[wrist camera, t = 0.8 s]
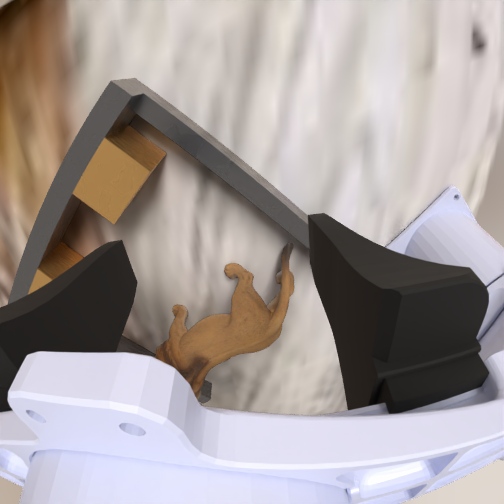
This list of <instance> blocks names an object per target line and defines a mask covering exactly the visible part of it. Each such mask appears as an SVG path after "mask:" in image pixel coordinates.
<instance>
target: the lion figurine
mask: <svg viewBox="0 0 504 504" xmlns="http://www.w3.org/2000/svg"><path fill="white" fill-rule="evenodd" d="M292 249H293V243H292V242H289V243H288V244H287V245H286V246H285V247H284V249H283V253H282V271H280V272H279V273H277V275H276V281H277V283H279V284H281V290H280V292H279V293H278V294H277V295H276V297H275V298H274V299H273V300H272V301H271V302H270V303H269V304H268V305H267V306H266V305H265V303H264V301H263V300H262V299H261V297H260V296H259V295H258V293H257V292H256V291H255V289H254V288H253V285H252V282H253V278H254V276H253V274H252V273H251V272H249V271H247V270H246V269H244V268H243V267H242V266H240V265H239V264H236V263H230V264H228V265H226V266H225V270H224V272H225V273H226V275H227V276H228V277H229V278H230V279H233V278H236V277H238V279H239V282H238V285H237V287H236V290H235V292H234V294H233V296H232V308H231V314H216V315H211V316H209V317H206V318H204V319H202V320H201V321H199V322H198V323H197V324H195V325H194V326H193V327H192V328H191V329H190V330H189V331H188V330H187V328H186V327H185V322H186V319H187V316H188V311H187V309H186V307H184V306H182V305H175V306H174V307H173V313H174V315H175V316H176V317H175V319H174V322H173V324H172V325H171V328H170V331H169V340H168V341H165V342H164V343H163V344H161V345H160V346H158V348H157V350H156V356H155V357H154V358H156V359H158V360H160V361H162V362H164V363H166V364H168V365H170V366H172V367H174V368H175V369H176V370H177V371H178V372H179V373H180V374H181V375H182V377H183V378H184V379H185V380H186V381H187V382H188V383H189V384H190V386H191V388H192V391H193V393H194V395H195V397H196V399H197V401H198V399H199V397H200V394H201V390H200V389H201V387H202V385H203V383H204V379H205V376H206V374H207V373H208V371H209V370H210V369H211V368H213V367H214V366H216V365H218V364H220V363H222V362H224V361H226V360H228V359H230V358H231V357H233V356H236V355H238V354H244V353H253V352H257V351H260V350H263V349H265V348H267V347H269V346H270V345H271V344H272V343H273V342H274V341H275V340H276V339H277V338H278V337H279V336H280V333H281V330H282V323H283V321H284V318H285V316H286V313H287V309H288V304H289V297H290V296H291V295H292V294H293V292H294V276H293V274H292V272H290V271H289V258H290V254H291V252H292Z"/></svg>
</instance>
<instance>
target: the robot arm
mask: <svg viewBox="0 0 504 504" xmlns="http://www.w3.org/2000/svg"><path fill="white" fill-rule="evenodd" d="M455 195H456V198H454V196H455ZM308 229H309V249H310V264H311V268H312V273H313V277H314V282H315V285H316V288H317V290H318V293H319V296H320V299H321V301H322V304H323V307H324V309H325V312H326V315H327V317H328V320H329V323H330V326H331V329H332V332H333V335H334V339H335V344H336V348H337V353H338V357H339V362H340V367H341V373H342V378H343V383H344V389H345V395H346V401H347V407H348V410H347V411H342V412H336V413H330V414H324V415H292V414H275V413H261V412H250V411H240V410H231V409H222V408H214V407H207V406H202V405H200V403H199V402H198V401H197V399H196V397H195V395H194V393H193V391H192V388H191V386H190V384H189V383H188V382H187V381H186V380H185V379H184V378H183V377H182V375H181V374H180V373H179V372H178V371H177V370H176V369H175V368H174V367H172V366H170V365H168V364H166V363H164V362H162V361H160V360H158V359H156V358H154V357H152V356H147V355H141V354H135V353H128V352H117V353H116V351H117V348H118V344H119V342H120V339H121V336H122V333H123V330H124V327H125V325H126V322H127V319H128V316H129V313H130V311H131V308H132V305H133V302H134V297H135V293H136V287H137V280H136V277H135V275H134V272H133V269H132V266H131V264H130V261H129V258H128V255H127V253H126V250H125V247H124V244H123V241H122V240H119V241H113V242H108V243H106V244H104V245H102V246H101V247H99V248H97V249H96V250H94V251H93V252H92V253H90V254H89V255H87V256H86V257H85V258H83V259H82V260H80V261H79V262H78V263H76V264H75V265H74V266H72V267H71V268H69V269H68V270H66V271H65V272H64V273H62V274H61V275H59V276H58V277H56V278H55V279H54V280H52V281H50V282H49V283H47V284H46V285H44V286H42V287H41V288H39V289H37V290H36V291H34V292H32V293H30V294H28V295H26V296H24V297H22V298H20V299H19V300H17V301H15V302H12V303H10V304H8V305H6V306H3V307H1V308H0V476H1V477H3V478H5V479H7V480H9V481H12V482H13V483H15V484H18V485H20V486H22V487H23V490H22V494H21V497H20V501H19V504H400V503H403V502H406V501H408V500H411V499H414V498H417V497H419V496H421V495H424V494H427V493H429V492H431V491H434V490H436V489H438V488H441V487H443V486H445V485H447V484H450V483H452V482H454V481H456V480H458V479H460V478H463V477H464V476H467V475H469V474H471V473H473V472H475V471H477V470H479V469H481V468H483V467H485V466H486V465H488V464H490V463H492V462H494V461H496V460H498V459H500V460H504V248H503V247H502V246H501V245H500V244H499V243H498V242H497V241H496V240H494V239H493V238H492V237H491V236H490V235H489V234H488V233H487V232H486V231H484V230H483V229H482V228H481V227H480V226H479V225H478V223H477V222H476V220H475V218H474V216H473V214H472V212H471V211H470V209H469V207H468V205H467V204H466V202H465V200H464V198H463V197H462V195H461V193H460V192H459V190H458V188H457V187H455V186H453V185H452V186H450V187H449V188H448V189H447V190H446V191H445V192H444V193H443V194H442V195H441V196H440V197H439V198H438V199H437V200H436V201H434V202H433V203H432V204H431V205H430V206H429V207H428V208H427V209H426V210H425V211H424V212H423V213H422V214H421V215H420V216H419V217H418V218H417V219H416V220H415V221H414V222H413V223H412V224H411V225H410V226H409V227H407V228H406V229H405V230H404V231H403V232H402V233H401V234H400V235H399V236H398V237H397V238H396V239H395V240H393V241H392V242H391V243H390V244H389V245H388V246H387V247H386V248H385V247H383V246H381V245H378V244H376V243H374V242H372V241H370V240H368V239H366V238H364V237H363V236H361V235H359V234H357V233H355V232H354V231H352V230H350V229H349V228H347V227H346V226H344V225H342V224H341V223H339V222H338V221H336V220H335V219H333V218H332V217H330V216H328V215H327V214H325V213H321V214H313V215H308Z"/></svg>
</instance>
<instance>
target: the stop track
mask: <svg viewBox="0 0 504 504" xmlns="http://www.w3.org/2000/svg"><path fill="white" fill-rule="evenodd" d="M136 114H138V115H139V116H140V117H142V118H143V119H144V120H146V121H147V122H148V123H150V124H151V125H152V126H154V127H155V128H156V129H158V130H159V131H160V132H162V133H163V134H164V135H166V136H167V137H168V138H170V139H171V140H172V141H174V142H175V143H176V144H178V145H179V146H180V147H182V148H183V149H184V150H186V151H187V152H188V153H189V154H191V155H192V156H193V157H195V158H196V159H197V160H199V161H200V162H201V163H202V164H204V165H205V166H206V167H208V168H209V169H210V170H211V171H213V172H214V173H215V174H217V175H218V176H219V177H220V178H222V179H223V180H224V181H225V182H227V183H228V184H229V185H231V186H232V187H233V188H234V189H236V190H237V191H238V192H239V193H241V194H242V195H243V196H244V197H246V198H247V199H248V200H249V201H251V202H252V203H253V204H254V205H256V206H257V207H258V208H259V209H261V210H262V211H263V212H264V213H265V214H267V215H268V216H269V217H270V218H272V219H273V220H274V221H275V222H277V223H278V224H279V225H280V226H281V227H283V228H284V229H285V230H286V231H288V232H289V233H290V234H291V235H292V236H294V237H295V238H296V239H297V240H298V241H300V242H301V243H302V244H303V245H304V246H306V247H307V248H308V249H309V229H308V216H307V215H306V214H305V213H304V212H303V211H302V210H300V209H299V208H298V207H297V206H296V205H295V204H294V203H292V202H291V201H290V200H289V199H288V198H287V197H285V196H284V195H283V194H282V193H281V192H280V191H278V190H277V189H276V188H275V187H274V186H273V185H271V184H270V183H269V182H268V181H267V180H265V179H264V178H263V177H262V176H261V175H259V174H258V173H257V172H256V171H255V170H253V169H252V168H251V167H250V166H249V165H247V164H246V163H245V162H244V161H243V160H241V159H240V158H239V157H238V156H236V155H235V154H234V153H233V152H231V151H230V150H229V149H228V148H226V147H225V146H224V145H223V144H221V143H220V142H219V141H218V140H216V139H215V138H214V137H213V136H211V135H210V134H209V133H208V132H206V131H205V130H204V129H202V128H201V127H200V126H199V125H197V124H196V123H195V122H193V121H192V120H191V119H189V118H188V117H187V116H186V115H184V114H183V113H182V112H180V111H179V110H178V109H176V108H175V107H174V106H172V105H171V104H170V103H168V102H167V101H166V100H164V99H163V98H162V97H160V96H159V95H158V94H156V93H155V92H153V91H152V90H151V89H149V88H148V87H147V86H145V85H144V84H142V83H141V82H140V81H138V80H137V79H135V78H132V79H122V80H113V81H111V82H110V83H109V84H108V86H107V87H106V89H105V90H104V92H103V93H102V95H101V96H100V98H99V100H98V101H97V103H96V104H95V106H94V107H93V109H92V111H91V112H90V114H89V116H88V117H87V119H86V121H85V122H84V124H83V126H82V127H81V129H80V131H79V133H78V134H77V136H76V138H75V140H74V141H73V143H72V145H71V147H70V149H69V151H68V152H67V154H66V156H65V158H64V160H63V162H62V164H61V166H60V168H59V170H58V172H57V174H56V176H55V178H54V180H53V182H52V184H51V187H50V189H49V191H48V193H47V195H46V198H45V200H44V202H43V204H42V207H41V209H40V211H39V214H38V216H37V219H36V221H35V224H34V226H33V229H32V231H31V234H30V236H29V239H28V242H27V244H26V247H25V250H24V253H23V256H22V259H21V262H20V265H19V268H18V271H17V274H16V277H15V280H14V284H13V287H12V290H11V294H10V297H9V301H8V304H10V303H12V302H15V301H17V300H19V299H20V298H22V297H24V296H26V295H28V294H30V293H32V292H34V291H36V290H37V289H39V288H41V287H42V286H44V285H46V284H47V283H49V282H50V281H52V280H54V279H55V278H56V277H58V276H59V275H61V274H62V273H64V272H65V271H66V270H68V269H69V268H71V267H72V266H74V265H75V264H76V263H78V262H79V261H80V260H82V259H83V258H84V257H82V256H81V255H79V254H78V253H77V252H75V251H74V250H73V249H71V248H70V247H68V246H67V245H66V244H64V243H63V242H62V241H61V239H62V237H63V235H64V233H65V231H66V229H67V227H68V225H69V223H70V221H71V220H72V218H73V216H74V214H75V212H76V210H77V208H78V206H79V204H80V203H81V201H83V202H84V203H86V204H87V205H88V206H90V207H91V208H92V209H94V210H95V211H96V212H98V213H99V214H100V215H102V216H103V217H105V218H106V219H107V220H109V221H110V222H111V223H113V224H115V223H116V221H117V220H118V219H119V217H120V216H121V214H122V213H123V212H124V210H125V209H126V208H127V206H128V205H129V204H130V203H131V201H132V200H133V199H134V197H135V196H136V194H137V193H138V192H139V190H140V189H141V187H142V186H143V184H144V183H145V182H146V180H147V179H148V178H149V176H150V175H151V173H152V172H153V171H154V169H155V168H156V167H157V165H158V164H159V163H160V161H161V160H162V159H163V157H164V156H165V155H166V153H165V152H164V151H163V150H161V149H160V148H159V147H157V146H156V145H155V144H153V143H152V142H151V141H149V140H148V139H147V138H145V137H144V136H143V135H141V134H140V133H139V132H137V131H136V130H135V129H133V128H132V127H131V126H129V123H130V122H131V120H132V119H133V118H134V116H135V115H136ZM309 250H310V249H309ZM117 352H128V353H135V354H141V355H147V356H152V357H155V356H156V355H155V354H153V353H152V352H150V351H148V350H146V349H145V348H143V347H141V346H139V345H138V344H136V343H134V342H132V341H131V340H129V339H127V338H126V337H124V336H121V339H120V342H119V344H118V348H117V351H116V353H117ZM211 387H212V384H211V383H209V382H207V381H205V380H204V383H203V385H202V387H201V389H200V390H201V394H200V397H199V399H198V401H199V402H201V403H206V402H207V401H209V400H210V399H211Z"/></svg>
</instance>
